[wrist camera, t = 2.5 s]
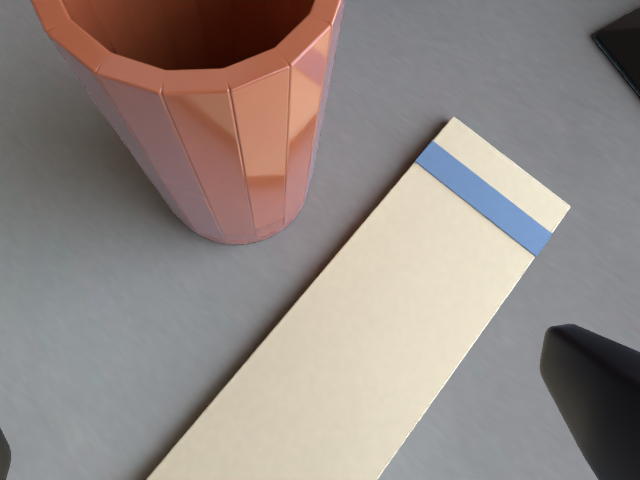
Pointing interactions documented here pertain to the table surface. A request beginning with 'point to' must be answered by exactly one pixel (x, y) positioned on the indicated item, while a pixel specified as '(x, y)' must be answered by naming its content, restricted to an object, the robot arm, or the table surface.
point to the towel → (377, 324)
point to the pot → (209, 98)
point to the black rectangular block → (623, 46)
